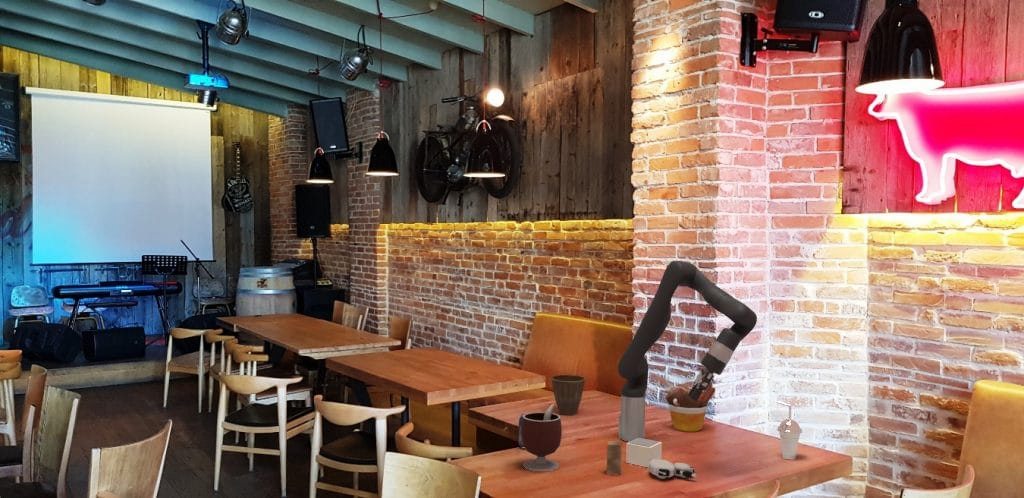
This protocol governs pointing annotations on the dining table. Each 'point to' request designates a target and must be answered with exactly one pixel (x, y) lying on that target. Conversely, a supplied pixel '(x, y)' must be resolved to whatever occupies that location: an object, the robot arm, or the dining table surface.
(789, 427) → the cup with straw
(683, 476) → the robot toy
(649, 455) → the block
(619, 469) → the walnut block
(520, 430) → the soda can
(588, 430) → the dining table surface
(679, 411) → the bucket of meat
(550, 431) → the mate gourd
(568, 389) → the plant pot
